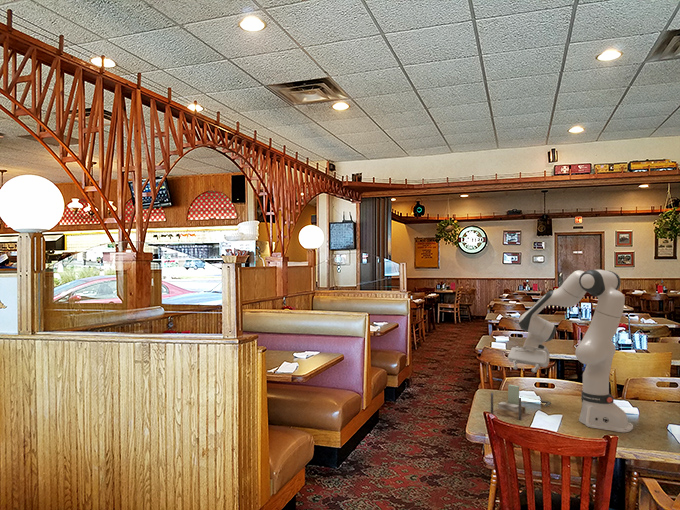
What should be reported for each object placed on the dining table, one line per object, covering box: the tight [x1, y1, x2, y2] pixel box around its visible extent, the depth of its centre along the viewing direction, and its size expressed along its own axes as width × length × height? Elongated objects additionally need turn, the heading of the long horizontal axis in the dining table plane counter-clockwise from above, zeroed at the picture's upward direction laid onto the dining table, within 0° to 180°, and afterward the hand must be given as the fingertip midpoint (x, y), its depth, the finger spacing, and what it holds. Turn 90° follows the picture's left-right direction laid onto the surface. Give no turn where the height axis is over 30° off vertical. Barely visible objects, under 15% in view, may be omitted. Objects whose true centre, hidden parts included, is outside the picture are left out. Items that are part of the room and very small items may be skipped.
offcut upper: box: [497, 401, 519, 412], centre depth 250 cm, size 9×4×2 cm, turn 48°
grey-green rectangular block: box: [507, 384, 520, 405], centre depth 254 cm, size 5×2×13 cm, turn 48°
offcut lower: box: [496, 407, 519, 418], centre depth 250 cm, size 10×5×2 cm, turn 48°
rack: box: [490, 392, 532, 421], centre depth 251 cm, size 16×12×12 cm
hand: (523, 370), depth 263 cm, fingers open, 8 cm apart
